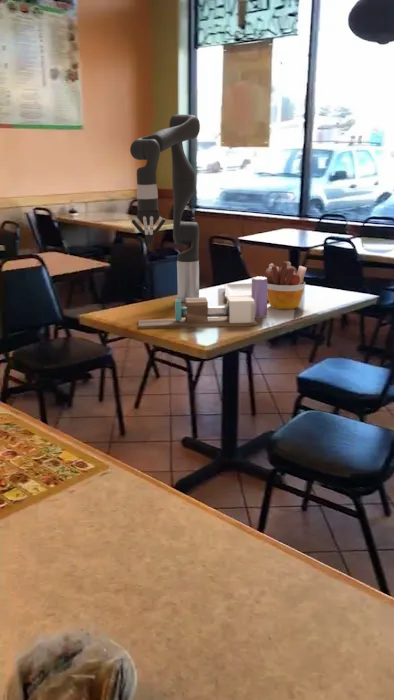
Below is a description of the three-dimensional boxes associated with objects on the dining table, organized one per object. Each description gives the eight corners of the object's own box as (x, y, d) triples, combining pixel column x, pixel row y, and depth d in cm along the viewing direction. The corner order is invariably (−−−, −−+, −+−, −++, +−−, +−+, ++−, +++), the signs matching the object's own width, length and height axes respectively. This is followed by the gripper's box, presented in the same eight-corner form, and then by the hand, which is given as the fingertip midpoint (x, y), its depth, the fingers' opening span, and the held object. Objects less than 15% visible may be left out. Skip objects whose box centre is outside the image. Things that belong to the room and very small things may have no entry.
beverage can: (265, 318, 241) (266, 279, 237) (250, 317, 242) (250, 278, 238) (267, 315, 247) (268, 276, 242) (252, 314, 248) (252, 276, 244)
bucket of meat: (266, 301, 271) (267, 254, 265) (305, 302, 267) (307, 255, 262) (261, 311, 252) (262, 261, 246) (303, 313, 249) (305, 262, 243)
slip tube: (175, 320, 231) (175, 301, 229) (175, 317, 235) (174, 299, 233) (244, 318, 232) (244, 300, 230) (242, 315, 237) (242, 297, 235)
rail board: (138, 322, 237) (137, 298, 235) (252, 319, 240) (253, 295, 238) (138, 328, 228) (137, 304, 225) (257, 325, 231) (257, 301, 228)
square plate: (224, 291, 295) (224, 283, 294) (283, 291, 294) (283, 283, 293) (224, 303, 269) (224, 294, 268) (289, 303, 268) (289, 294, 267)
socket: (226, 317, 239) (226, 296, 237) (250, 317, 239) (250, 296, 237) (229, 323, 231) (229, 301, 228) (254, 322, 231) (254, 300, 229)
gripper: (166, 195, 235) (167, 242, 240) (130, 196, 235) (133, 243, 240) (165, 197, 227) (167, 246, 233) (128, 198, 228) (131, 246, 233)
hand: (149, 244), depth 237 cm, fingers closed
